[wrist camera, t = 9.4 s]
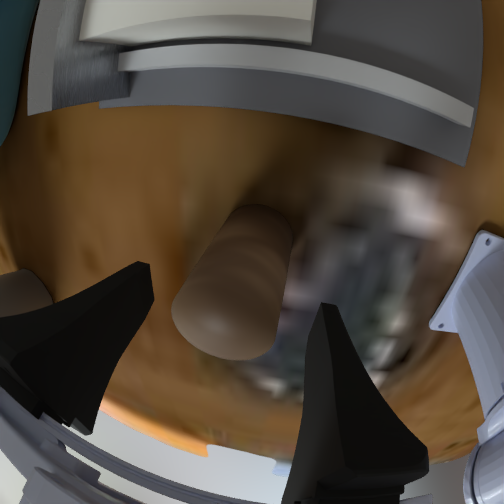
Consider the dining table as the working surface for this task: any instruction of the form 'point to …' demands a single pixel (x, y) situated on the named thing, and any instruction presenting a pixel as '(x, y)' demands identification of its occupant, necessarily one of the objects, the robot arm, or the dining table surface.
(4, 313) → the vase
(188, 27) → the sliding block
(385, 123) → the slide board
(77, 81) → the stop wall
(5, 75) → the casserole dish
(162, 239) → the dining table surface
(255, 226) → the dowel
